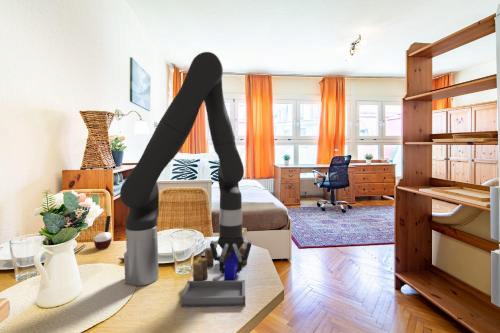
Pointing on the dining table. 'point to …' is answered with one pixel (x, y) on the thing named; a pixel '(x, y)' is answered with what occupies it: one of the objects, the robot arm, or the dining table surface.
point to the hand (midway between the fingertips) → (230, 271)
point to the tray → (214, 293)
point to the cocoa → (103, 237)
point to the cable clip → (231, 267)
